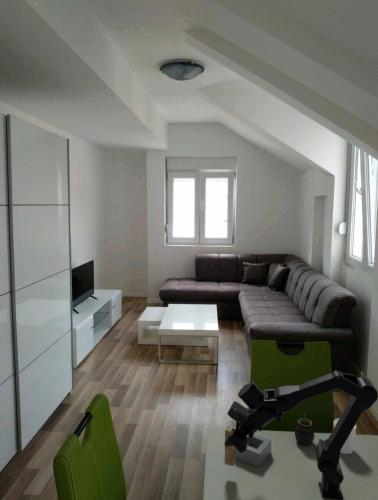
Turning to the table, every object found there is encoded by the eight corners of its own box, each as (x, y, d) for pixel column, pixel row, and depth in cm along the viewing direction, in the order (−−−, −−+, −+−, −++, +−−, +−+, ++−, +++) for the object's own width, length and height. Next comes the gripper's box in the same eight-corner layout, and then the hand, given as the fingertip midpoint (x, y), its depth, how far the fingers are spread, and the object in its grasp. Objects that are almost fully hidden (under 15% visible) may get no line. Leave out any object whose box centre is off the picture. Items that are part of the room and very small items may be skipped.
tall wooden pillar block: (235, 461, 135) (236, 427, 134) (233, 466, 132) (233, 432, 131) (226, 458, 136) (227, 425, 135) (224, 464, 133) (225, 430, 132)
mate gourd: (296, 447, 150) (297, 421, 149) (292, 435, 158) (293, 411, 157) (316, 447, 150) (317, 422, 149) (310, 436, 158) (311, 412, 157)
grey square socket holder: (270, 452, 147) (271, 440, 146) (259, 466, 139) (259, 454, 138) (246, 443, 152) (246, 431, 152) (233, 456, 144) (234, 443, 144)
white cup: (351, 443, 153) (352, 418, 152) (357, 456, 145) (359, 430, 144) (330, 442, 154) (331, 417, 152) (335, 454, 146) (336, 428, 145)
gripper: (249, 385, 139) (218, 409, 144) (235, 411, 122) (201, 437, 127) (271, 411, 137) (239, 434, 142) (260, 440, 120) (224, 466, 125)
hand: (226, 441), depth 134 cm, fingers closed on tall wooden pillar block, 3 cm apart
